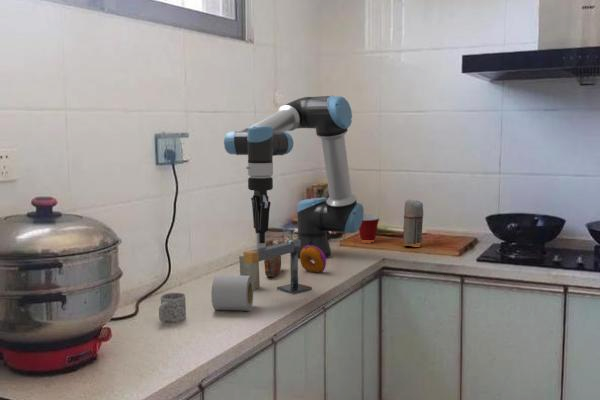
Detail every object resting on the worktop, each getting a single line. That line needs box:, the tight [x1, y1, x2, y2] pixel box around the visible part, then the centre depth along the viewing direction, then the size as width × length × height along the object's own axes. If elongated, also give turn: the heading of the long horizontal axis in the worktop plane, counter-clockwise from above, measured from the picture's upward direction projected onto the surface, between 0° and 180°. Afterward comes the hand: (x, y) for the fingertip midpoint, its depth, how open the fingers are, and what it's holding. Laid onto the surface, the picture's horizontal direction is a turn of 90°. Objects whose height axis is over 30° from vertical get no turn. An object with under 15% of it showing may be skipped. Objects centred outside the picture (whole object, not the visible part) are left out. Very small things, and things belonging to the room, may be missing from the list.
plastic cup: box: [358, 213, 381, 240], centre depth 283 cm, size 11×11×12 cm
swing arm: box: [242, 238, 301, 264], centre depth 197 cm, size 24×4×3 cm, turn 142°
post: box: [276, 251, 313, 295], centre depth 206 cm, size 8×8×12 cm
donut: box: [299, 245, 327, 273], centre depth 229 cm, size 8×9×10 cm
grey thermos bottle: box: [402, 199, 424, 244], centre depth 273 cm, size 8×8×20 cm
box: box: [238, 253, 261, 290], centre depth 209 cm, size 5×4×11 cm
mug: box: [158, 292, 187, 324], centre depth 176 cm, size 10×7×7 cm
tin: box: [263, 255, 282, 278], centre depth 227 cm, size 15×3×8 cm, turn 168°
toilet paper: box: [210, 274, 255, 312], centre depth 186 cm, size 10×10×10 cm
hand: (261, 252), depth 197 cm, fingers closed
